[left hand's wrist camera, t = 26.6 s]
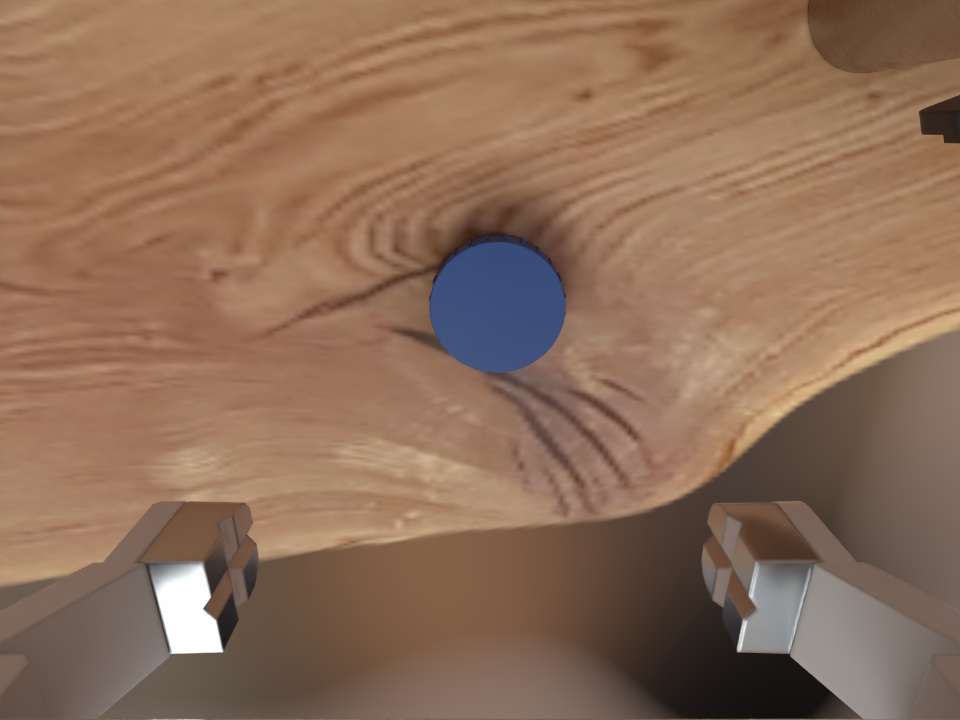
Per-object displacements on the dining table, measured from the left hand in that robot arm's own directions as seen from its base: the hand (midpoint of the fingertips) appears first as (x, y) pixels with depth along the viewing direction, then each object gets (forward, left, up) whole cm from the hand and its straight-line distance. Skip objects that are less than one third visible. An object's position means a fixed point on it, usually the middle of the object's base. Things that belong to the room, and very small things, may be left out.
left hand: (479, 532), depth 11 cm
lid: (+1, 0, -16) cm, 16 cm away
